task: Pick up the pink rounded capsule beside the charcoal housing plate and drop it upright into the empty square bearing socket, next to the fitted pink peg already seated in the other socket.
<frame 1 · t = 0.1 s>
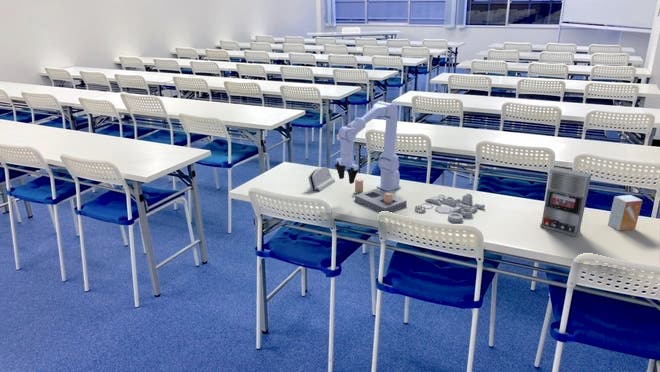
hand: (346, 180, 218), 10 cm above the table, tool pointing down, fingers open, 7 cm apart
fitted pink peg: (387, 206, 216), resting in housing
hinge: (321, 185, 242), on the table
small box: (621, 227, 194), on the table
cassette tape recorder: (559, 230, 192), on the table
pink rounded capsule: (359, 191, 233), on the table
robot parts: (447, 210, 213), on the table
housing: (380, 202, 219), on the table
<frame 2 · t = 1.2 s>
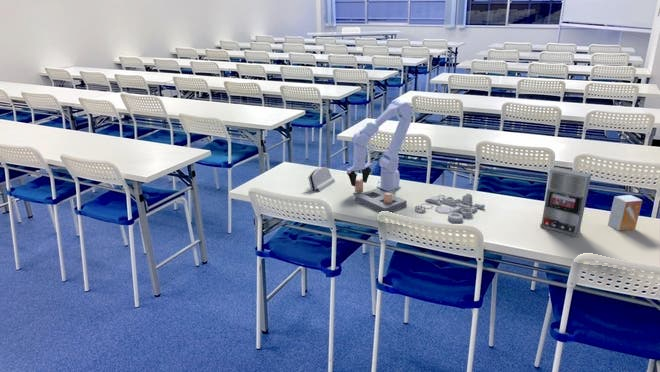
hand: (358, 183, 231), 4 cm above the table, tool pointing down, fingers open, 7 cm apart
nothing on the table moved.
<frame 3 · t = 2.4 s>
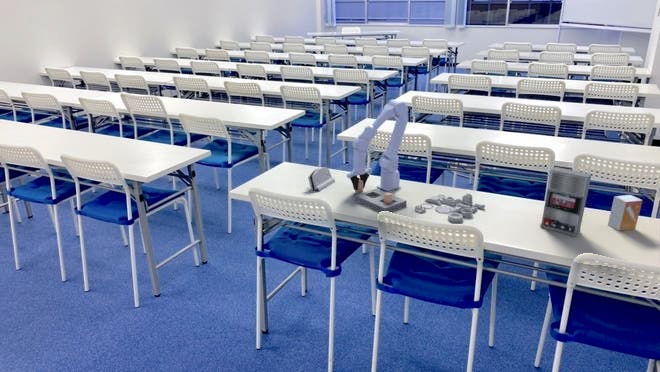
hand: (359, 188, 232), 2 cm above the table, tool pointing down, fingers closed on pink rounded capsule, 4 cm apart
pink rounded capsule: (359, 191, 233), on the table, touching gripper
everything else where it was.
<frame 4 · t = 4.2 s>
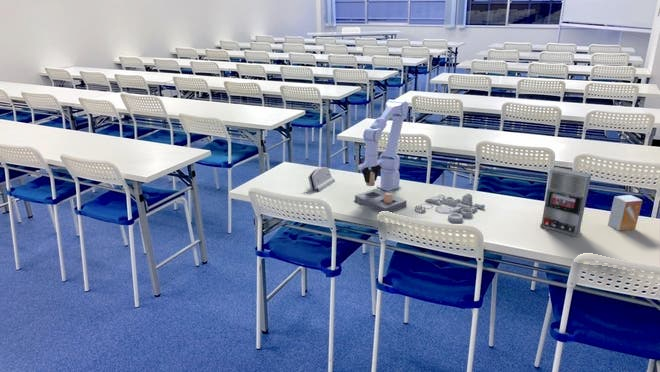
hand: (370, 181, 221), 9 cm above the table, tool pointing down, fingers closed on pink rounded capsule, 4 cm apart
pink rounded capsule: (370, 184, 222), point 7 cm above the table, touching gripper
everything else where it was.
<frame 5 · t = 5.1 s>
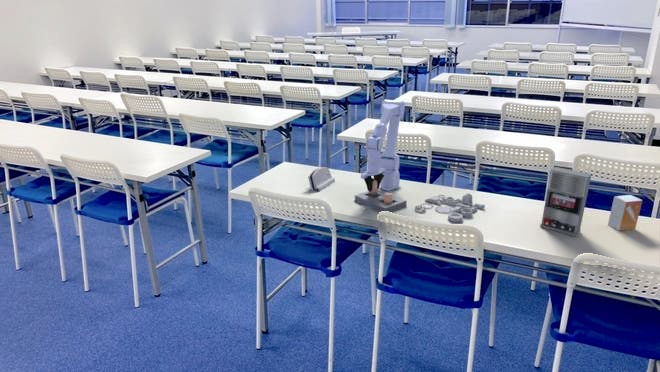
hand: (373, 189, 221), 5 cm above the table, tool pointing down, fingers closed on pink rounded capsule, 4 cm apart
pink rounded capsule: (372, 193, 222), point 3 cm above the table, touching gripper
everything else where it was.
when the fingers open (5 cm above the table, at t = 5.8 s): pink rounded capsule drops 3 cm, resting in housing.
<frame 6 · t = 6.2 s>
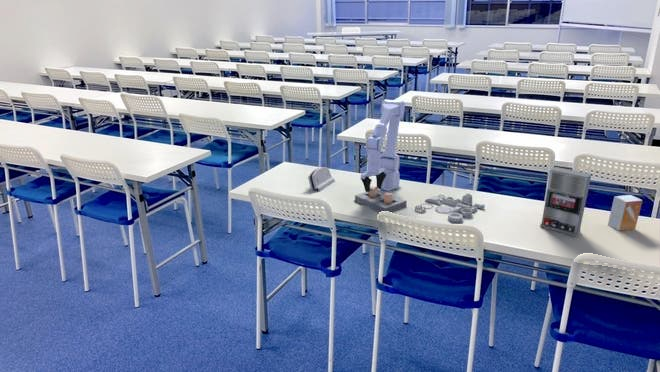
hand: (373, 189, 221), 5 cm above the table, tool pointing down, fingers open, 7 cm apart
pink rounded capsule: (372, 199, 223), resting in housing
everything else where it was.
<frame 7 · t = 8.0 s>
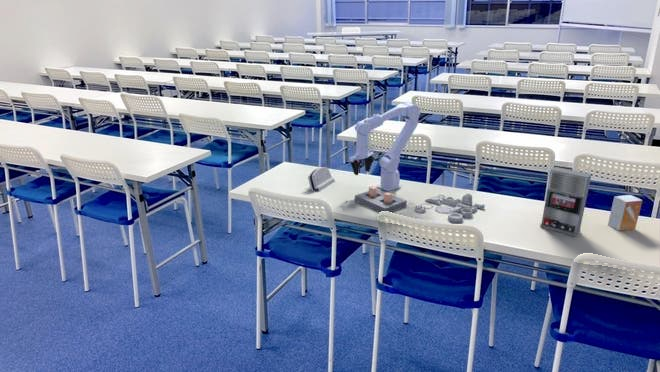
hand: (361, 173, 231), 9 cm above the table, tool pointing down, fingers open, 7 cm apart
nothing on the table moved.
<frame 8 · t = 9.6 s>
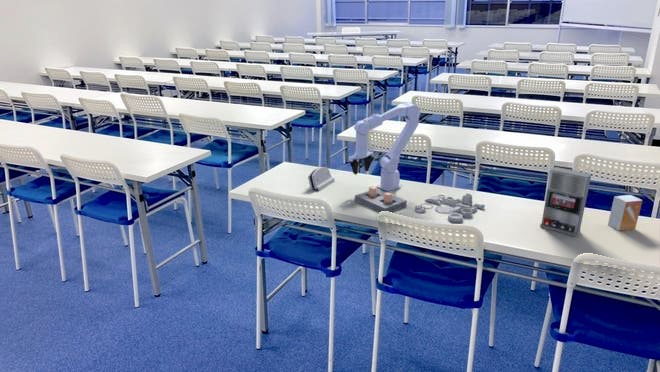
hand: (361, 172, 231), 9 cm above the table, tool pointing down, fingers open, 7 cm apart
nothing on the table moved.
at the end: pink rounded capsule 0.1 cm from the target spot on the housing, point 0.0 cm above the housing's base; pink rounded capsule tilted 1°; the gripper is holding nothing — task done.
